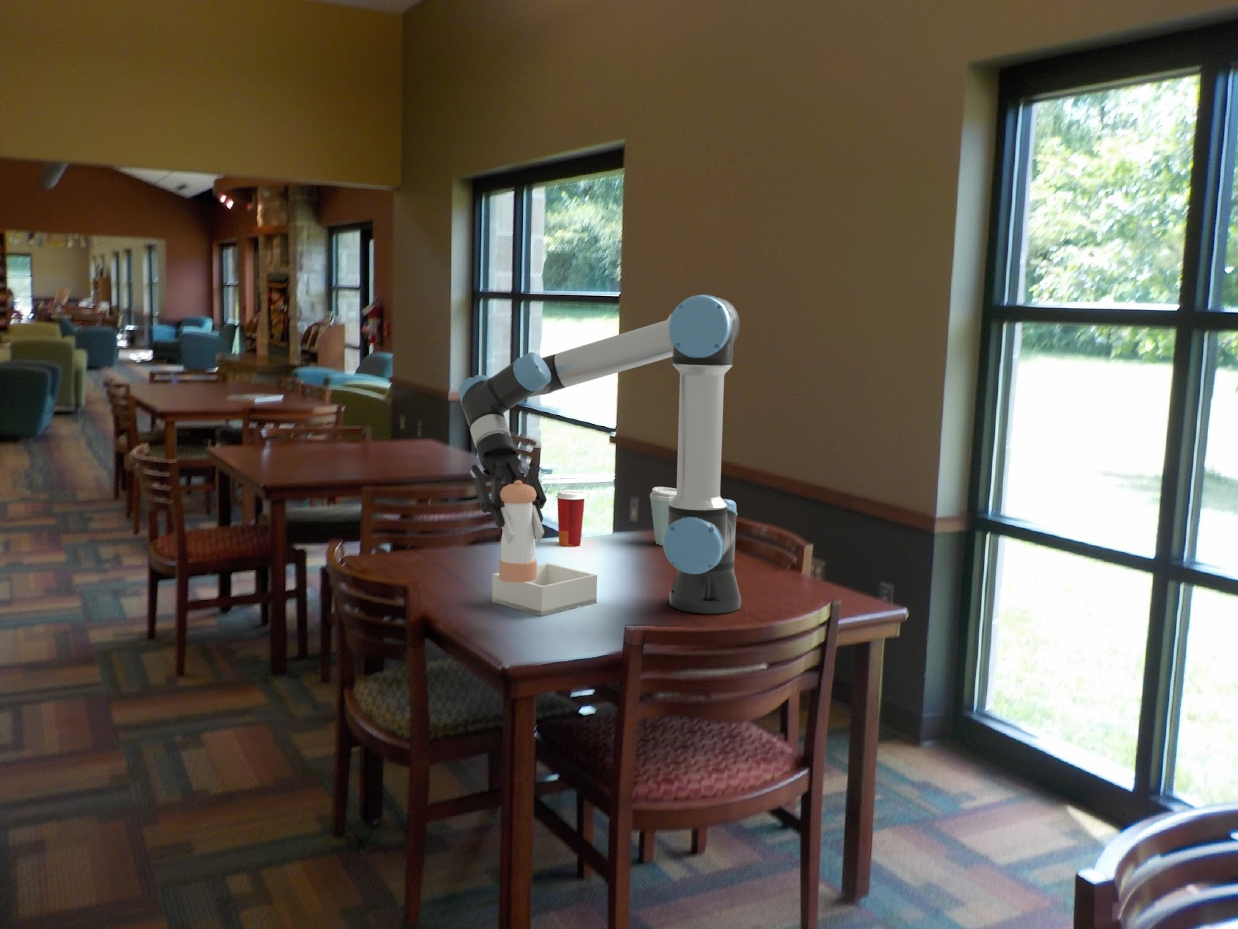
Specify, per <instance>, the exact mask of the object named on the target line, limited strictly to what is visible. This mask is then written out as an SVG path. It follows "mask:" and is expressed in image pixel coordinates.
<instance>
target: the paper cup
mask: <svg viewBox="0 0 1238 929" xmlns="http://www.w3.org/2000/svg"><path fill="white" fill-rule="evenodd" d="M555 498H557V524H558V525H557V526H558V544H559V546H561V547H565V548H567V547H568V548H569V547H570V548H573V547H574V548H575V547H579V546H581V542H582V531H583V530H582V529H583V520H584V510H585V499H586V496H585V492H584V491H582V490H577V489H576V490H575V489H566V490H565V489H564V490H559V491H558V492H557V493H556V496H555Z"/></svg>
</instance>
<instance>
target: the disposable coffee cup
mask: <svg viewBox="0 0 1238 929" xmlns="http://www.w3.org/2000/svg"><path fill="white" fill-rule="evenodd" d="M676 494H677V488H673V487H666V486H655V487H653V488H652V489H651V492H650V493H649V498H650V506H651V516H652V523H653V533H654V541H655V544H656V545H657V544H659V545H663V539H664V534H665V532H666V530H667V528H668V510H669V501H671V500H672V499H673V498H674V497H675V496H676ZM659 545H658V546H659Z"/></svg>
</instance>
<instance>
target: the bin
mask: <svg viewBox="0 0 1238 929" xmlns="http://www.w3.org/2000/svg"><path fill="white" fill-rule="evenodd" d="M491 580H492V584H491V585H492V589H491V595H492V596H491V602H492V603H495V604H498V605H502V606H505V607H509V608H510V609H515V610H519V611H521V612H526V613H530V614H532V613H533V614H532V615H536V616H539V617H545V616H548V615H552V613H553V614H556V613H561V612H565V611H568V610H567V609H569V610H572V608H573V609H576V607H577V608H579V607H578V606H581V607H585V606H589V605H592V603H594V604H597V600H598V599H597V598H598V592H597V591H598V574H595V573H591V572H590V573H589V572H586V571H583V570H579V569H574V568H571V567H570V568H569V567H566V566H561V565H559V564H553V563H551V562H550V563H549V562H545V563H540V564H537V579H535V580H533V581H529V582H506V581H502V580H500V579H499V572H496V573H492V579H491ZM564 610H565V611H564Z"/></svg>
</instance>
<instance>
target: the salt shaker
mask: <svg viewBox="0 0 1238 929" xmlns="http://www.w3.org/2000/svg"><path fill="white" fill-rule="evenodd" d="M526 484H527V483H526ZM526 484H522V481H520V480H516V481H515V482H514V484H510V483H509V484H508V485H505V486H503V487H501V492H500V497H501V502H503V507H505V508H506V511H507V514H508V517H509V520H510V523H511V526H512V529H513V532H514V537H513V539H512V541H511V543H507V542H506V539H505V536H504V533H503V531H502V533H501V534H502V535H501V539H500V560H499V562H498V566H499V568H498V571H499V572H498V573H499V579H500V580H502V581H506V582H529V581H533V580H535V579H537V565H538V563H537V559H536V537H535V534H534V531H533V525H532V501H534V500H535V499H536V496H537V495H536V491H535V489H534V488H533V487H531V486H529V484H527V485H526Z"/></svg>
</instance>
